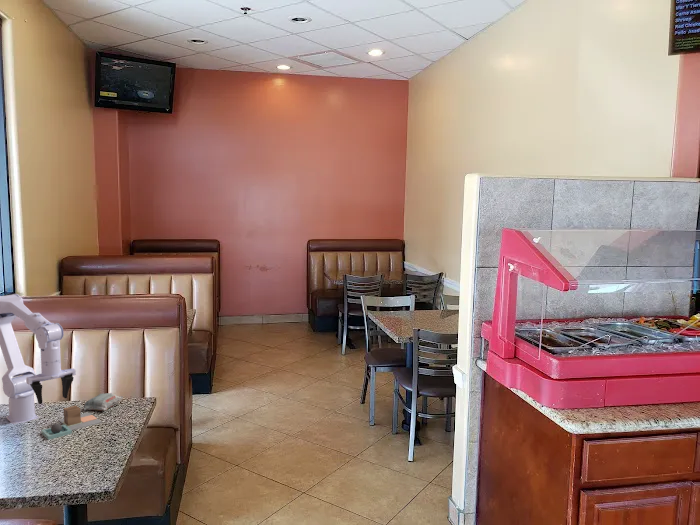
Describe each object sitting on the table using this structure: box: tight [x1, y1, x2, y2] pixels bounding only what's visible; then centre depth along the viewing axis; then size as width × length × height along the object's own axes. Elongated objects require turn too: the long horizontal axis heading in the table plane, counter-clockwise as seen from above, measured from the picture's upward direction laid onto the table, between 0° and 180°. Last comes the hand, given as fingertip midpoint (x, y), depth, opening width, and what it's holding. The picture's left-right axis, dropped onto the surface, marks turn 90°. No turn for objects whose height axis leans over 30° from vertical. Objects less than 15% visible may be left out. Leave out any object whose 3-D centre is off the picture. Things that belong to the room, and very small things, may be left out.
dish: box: [41, 424, 73, 440], centre depth 180 cm, size 7×7×2 cm
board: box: [58, 412, 103, 431], centre depth 190 cm, size 12×10×1 cm
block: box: [63, 405, 81, 426], centre depth 188 cm, size 4×4×5 cm
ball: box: [50, 423, 62, 434], centre depth 180 cm, size 3×3×3 cm
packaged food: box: [83, 392, 124, 412], centre depth 204 cm, size 9×12×5 cm
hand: (52, 400), depth 184 cm, fingers open, 7 cm apart
